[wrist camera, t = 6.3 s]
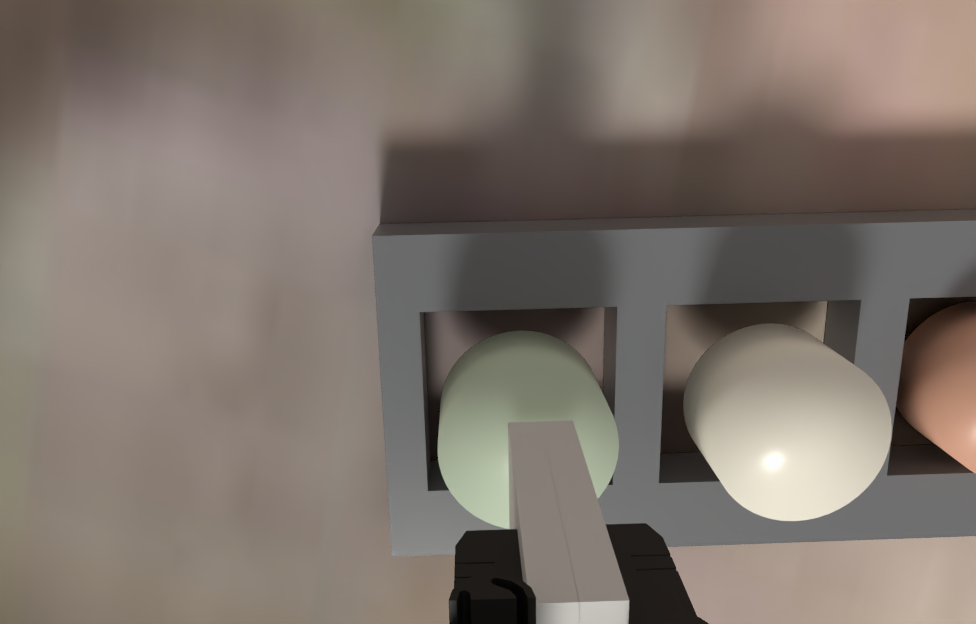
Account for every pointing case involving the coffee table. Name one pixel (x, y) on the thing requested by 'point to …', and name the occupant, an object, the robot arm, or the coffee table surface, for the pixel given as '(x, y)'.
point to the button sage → (517, 415)
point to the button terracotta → (942, 381)
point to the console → (641, 344)
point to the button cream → (786, 422)
